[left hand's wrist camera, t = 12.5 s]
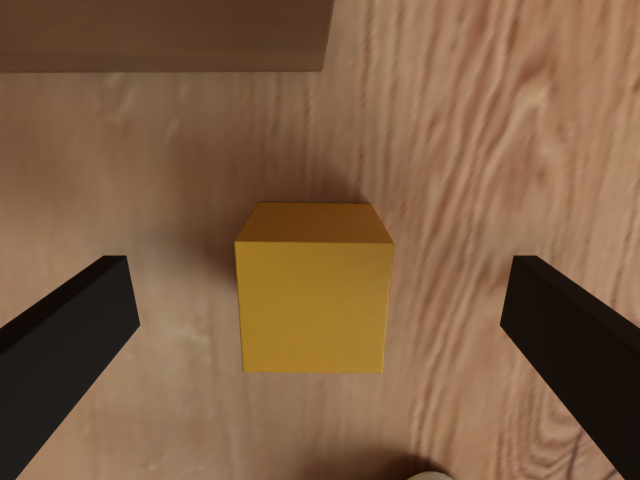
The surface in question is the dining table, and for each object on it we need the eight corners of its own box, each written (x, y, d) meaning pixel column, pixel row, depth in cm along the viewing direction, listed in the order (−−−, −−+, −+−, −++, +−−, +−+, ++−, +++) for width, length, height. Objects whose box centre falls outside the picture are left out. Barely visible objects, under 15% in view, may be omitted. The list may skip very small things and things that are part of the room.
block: (371, 203, 16) (394, 242, 11) (365, 303, 17) (382, 373, 13) (257, 201, 16) (233, 241, 11) (262, 302, 17) (242, 372, 13)
